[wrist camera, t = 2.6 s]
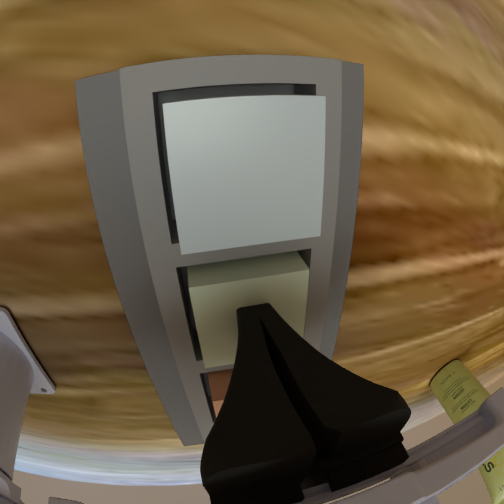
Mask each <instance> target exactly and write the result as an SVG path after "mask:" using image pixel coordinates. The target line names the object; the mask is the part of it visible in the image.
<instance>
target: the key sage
mask: <svg viewBox="0 0 504 504" xmlns="http://www.w3.org/2000/svg"><path fill="white" fill-rule="evenodd" d="M187 273H188V286H189V293H190V298H191V303H192V308H193V313H194V318H195V323H196V328H197V333H198V338H199V343H200V347H201V352H202V356H203V361H204V365H205V368H210V367H217V366H223V365H229V364H234V363H235V357H236V351H237V343H238V325H237V314H236V310H237V309H238V308H240V307H246V306H252V305H258V304H264V303H269V304H271V305H272V307H273V308H274V309H275V310H276V311H277V312H278V314H279V315H280V316H281V317H282V318H283V319H284V320H285V321H286V322H287V323H288V324H289V325H290V326H291V327H292V328H293V329H294V330H295V331H296V332H297V333H298V334H299V335H300V336H301V337H302V338H303V336H304V326H305V316H306V305H307V294H308V282H309V268H308V267H307V265H306V264H305V262H304V261H303V259H302V258H301V256H300V255H299V254H298V252H297V251H290V252H283V253H276V254H269V255H262V256H255V257H248V258H240V259H233V260H226V261H219V262H212V263H205V264H198V265H191V266H187Z"/></svg>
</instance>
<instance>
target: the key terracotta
mask: <svg viewBox="0 0 504 504" xmlns="http://www.w3.org/2000/svg"><path fill="white" fill-rule="evenodd" d="M232 372H233V368H232V369H226V370H220V371H213V372H208V379H209V385H210V391H211V397H212V403H213V406H214V410H215V414H216V418H217V416H218V413H219V411H220V408H221V406H222V404H223V401H224V398H225V395H226V392H227V389H228V386H229V383H230V379H231V375H232Z"/></svg>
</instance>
